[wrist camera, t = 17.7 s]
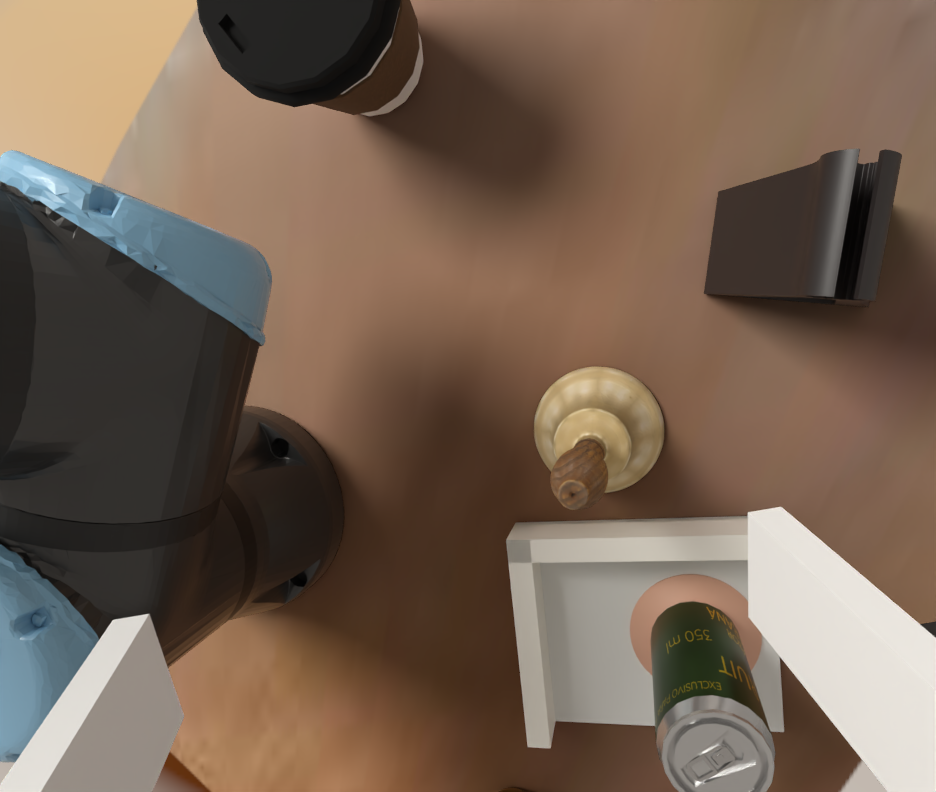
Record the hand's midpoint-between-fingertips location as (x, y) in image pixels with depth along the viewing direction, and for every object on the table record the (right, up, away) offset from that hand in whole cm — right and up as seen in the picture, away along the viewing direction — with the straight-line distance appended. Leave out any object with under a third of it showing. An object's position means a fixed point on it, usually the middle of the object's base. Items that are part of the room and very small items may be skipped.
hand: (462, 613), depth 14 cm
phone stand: (+19, +13, +24) cm, 34 cm away
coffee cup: (-6, +26, +29) cm, 39 cm away
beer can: (+15, -11, +28) cm, 33 cm away
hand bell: (+9, +3, +28) cm, 30 cm away
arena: (+12, -10, +29) cm, 33 cm away
